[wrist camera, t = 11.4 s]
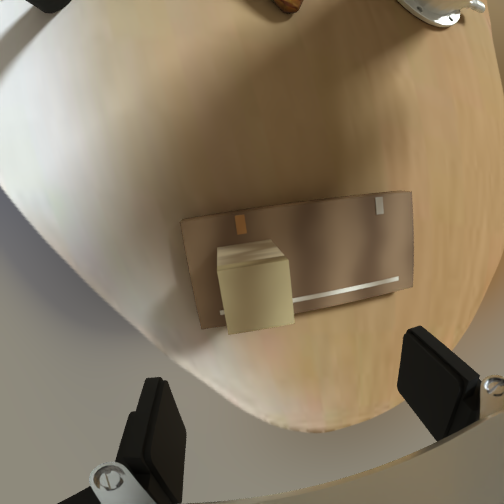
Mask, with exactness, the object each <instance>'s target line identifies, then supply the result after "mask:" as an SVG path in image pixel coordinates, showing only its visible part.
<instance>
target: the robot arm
mask: <svg viewBox="0 0 504 504" xmlns="http://www.w3.org/2000/svg"><path fill="white" fill-rule="evenodd" d="M397 1H398V2H399V3H400V4H401V5H402V6H404V7H405V8H406V9H407V10H408V11H409V12H411V13H412V14H413V15H415V16H416V17H418V18H419V19H421V20H423V21H425V22H426V23H428V24H431V25H434V26H437V27H449V26H452V25H453V24H455V23H457V21H458V20H459V17H460V9H462V8H471V9H473V10H475V11H477V12H479V13H483V12H484V11H485V6H484V4H483V3H482V2H480V1H478V0H397ZM479 376H480V375H479V374H478V373H476V372H475V371H474V370H473V369H472V368H471V367H469V366H468V365H467V364H466V363H465V362H464V361H463V360H461V359H460V358H459V357H458V356H457V355H456V354H454V353H453V352H452V351H451V350H450V349H449V348H447V347H446V346H445V345H444V344H443V343H441V342H440V341H439V340H438V339H437V338H435V337H434V336H433V335H432V334H431V333H429V332H428V331H427V330H426V329H424V328H423V327H422V326H417V327H414V328H411V329H408V330H407V332H406V334H404V337H403V345H402V353H401V361H400V368H399V375H398V382H397V388H398V391H399V393H400V394H401V395H402V396H403V398H404V399H405V400H406V402H407V403H408V404H409V406H410V407H411V408H412V409H413V411H414V412H415V413H416V414H417V416H418V417H419V419H420V420H421V421H422V422H423V424H424V425H425V426H426V428H427V429H428V430H429V432H430V433H431V434H432V436H433V437H434V438H435V439H436V441H438V442H436V443H434V444H432V445H430V446H427V447H425V448H423V449H421V450H419V451H416V452H414V453H412V454H409V455H407V456H404V457H402V458H400V459H398V460H395V461H392V462H389V463H387V464H384V465H382V466H379V467H376V468H373V469H370V470H367V471H364V472H361V473H358V474H355V475H352V476H349V477H345V478H342V479H339V480H335V481H332V482H328V483H324V484H320V485H316V486H312V487H308V488H303V489H299V490H294V491H289V492H284V493H278V494H273V495H266V496H260V497H253V498H245V499H236V500H228V501H217V502H205V503H188V504H504V377H503V376H499V375H491V376H488V377H486V378H485V379H483V380H482V381H481V380H480V379H479ZM185 448H186V429H185V426H184V424H183V421H182V419H181V416H180V414H179V411H178V408H177V406H176V403H175V400H174V398H173V395H172V392H171V390H170V387H169V384H168V382H167V381H166V380H164V381H163V380H162V378H161V377H155V378H146V380H145V383H144V386H143V389H142V392H141V396H140V399H139V402H138V405H137V409H136V411H134V412H131V413H130V414H129V417H128V420H127V423H126V426H125V429H124V433H123V436H122V439H121V443H120V446H119V450H118V453H117V457H116V460H115V462H106V463H103V464H100V465H99V466H97V467H96V468H95V469H94V470H93V471H92V472H91V474H90V477H89V482H90V485H91V486H89V487H88V488H86V489H84V490H82V491H80V492H79V493H77V494H75V495H73V496H71V497H69V498H67V499H65V500H64V501H62V502H60V503H58V504H181V502H182V491H183V475H184V461H185Z"/></svg>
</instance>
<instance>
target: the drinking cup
mask: <svg viewBox="0 0 504 504" xmlns="http://www.w3.org/2000/svg"><path fill="white" fill-rule="evenodd" d="M26 1H28V2H29V3H31V4H32V5H34V6H36V7H37V8H39V9H40V10H42V11H43V12H45V13H53V12H56V11H58V10H60V9H62V8H63V7H64V6H66V5H67V4H68V3H69V2H70V1H71V0H26Z"/></svg>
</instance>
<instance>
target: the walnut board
mask: <svg viewBox="0 0 504 504" xmlns="http://www.w3.org/2000/svg"><path fill="white" fill-rule="evenodd" d="M180 224H181V230H182V235H183V241H184V247H185V252H186V257H187V262H188V268H189V273H190V278H191V283H192V288H193V292H194V297H195V302H196V306H197V311H198V316H199V320H200V325H201V329H207V328H214V327H220V326H227V323H226V318H225V313H224V307H223V302H222V296H221V291H220V285H219V279H218V274H217V248H218V247H224V246H231V245H237V244H244V243H250V242H257V241H263V240H270V239H271V240H272V242H273V243H274V244H275V245H276V246H277V247H278V248H279V250H280V251H281V252H282V253H283V254H284V255H285V256H286V258H287V259H288V260H289V269H290V279H291V289H292V299H293V310H294V314H296V313H301V312H306V311H311V310H316V309H321V308H326V307H331V306H335V305H340V304H344V303H349V302H353V301H358V300H362V299H366V298H371V297H375V296H379V295H383V294H387V293H391V292H395V291H399V290H403V289H407V288H411V287H413V267H414V231H413V205H412V192H410V191H391V192H381V193H371V194H362V195H353V196H344V197H335V198H327V199H318V200H310V201H302V202H295V203H287V204H280V205H272V206H265V207H258V208H251V209H244V210H238V211H231V212H225V213H218V214H212V215H206V216H200V217H194V218H188V219H183V220H182V221H181V222H180Z"/></svg>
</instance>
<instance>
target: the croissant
mask: <svg viewBox="0 0 504 504" xmlns="http://www.w3.org/2000/svg"><path fill="white" fill-rule="evenodd" d="M273 1H274V2H275V4H276V5H277V6H278V7H279V8H280V9H281V10H282V11H283V13H289V14H290V13H295V12H297V11H298V10H299V8H300V6H301V4H302V2H303V0H273Z"/></svg>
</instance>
